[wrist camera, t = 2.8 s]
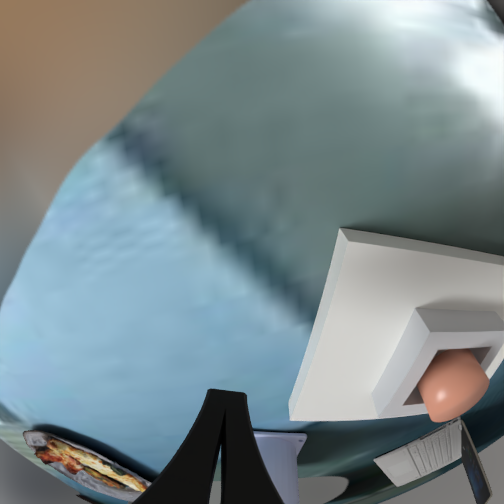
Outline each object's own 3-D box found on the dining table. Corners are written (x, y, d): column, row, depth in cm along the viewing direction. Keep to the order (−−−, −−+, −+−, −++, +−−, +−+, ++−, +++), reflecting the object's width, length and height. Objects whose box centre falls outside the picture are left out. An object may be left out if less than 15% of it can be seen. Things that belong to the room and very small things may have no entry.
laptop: (372, 455, 30) (389, 541, 18) (460, 413, 27) (494, 494, 15) (395, 483, 36) (408, 543, 25) (461, 453, 33) (481, 510, 22)
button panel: (462, 392, 25) (477, 422, 21) (288, 402, 24) (291, 445, 20) (535, 263, 18) (564, 288, 14) (339, 227, 17) (361, 262, 13)
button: (452, 389, 19) (465, 416, 16) (406, 395, 19) (418, 426, 16) (481, 344, 17) (500, 372, 14) (435, 347, 16) (453, 379, 14)
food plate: (13, 429, 34) (7, 443, 31) (56, 409, 28) (47, 430, 25) (117, 493, 43) (114, 506, 40) (193, 488, 37) (191, 506, 34)
